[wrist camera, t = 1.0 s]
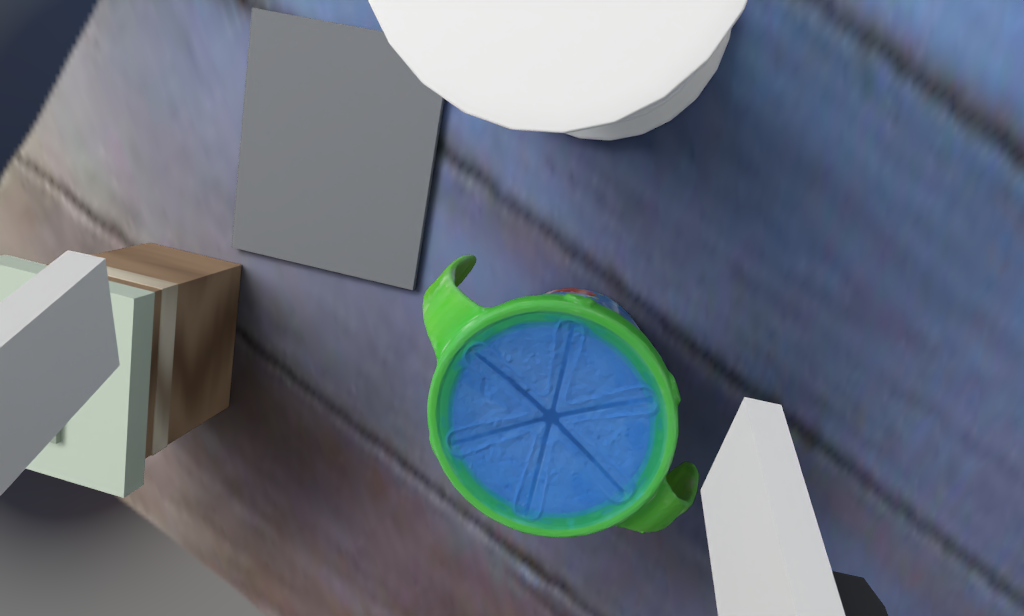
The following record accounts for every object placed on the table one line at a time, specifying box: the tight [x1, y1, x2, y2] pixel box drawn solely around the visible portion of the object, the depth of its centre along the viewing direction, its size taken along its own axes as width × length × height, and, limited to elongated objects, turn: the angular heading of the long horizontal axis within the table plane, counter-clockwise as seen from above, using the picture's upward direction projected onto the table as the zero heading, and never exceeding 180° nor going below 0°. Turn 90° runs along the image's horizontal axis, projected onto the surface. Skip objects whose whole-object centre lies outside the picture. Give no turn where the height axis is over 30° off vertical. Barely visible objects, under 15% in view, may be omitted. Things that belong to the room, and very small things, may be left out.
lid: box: [0, 255, 155, 498], centre depth 35 cm, size 10×8×2 cm
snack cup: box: [423, 255, 699, 537], centre depth 35 cm, size 16×10×10 cm
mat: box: [231, 8, 444, 290], centre depth 40 cm, size 13×11×1 cm
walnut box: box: [47, 243, 242, 458], centre depth 40 cm, size 9×6×9 cm
